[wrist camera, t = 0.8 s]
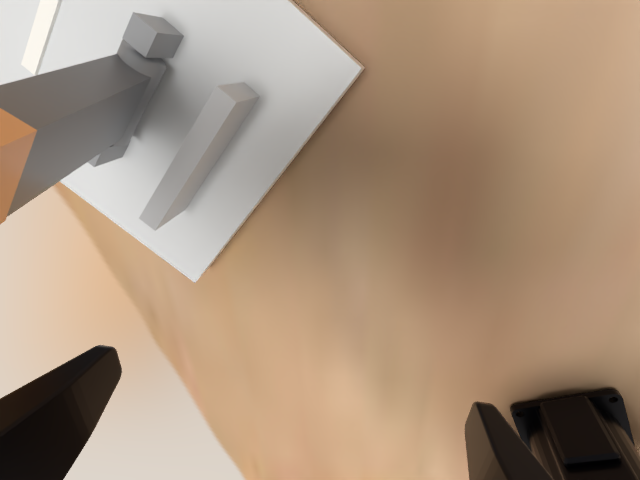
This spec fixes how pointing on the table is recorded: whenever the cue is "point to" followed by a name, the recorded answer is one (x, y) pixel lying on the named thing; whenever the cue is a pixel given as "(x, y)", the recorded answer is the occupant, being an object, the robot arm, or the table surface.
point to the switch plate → (190, 107)
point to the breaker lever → (69, 120)
